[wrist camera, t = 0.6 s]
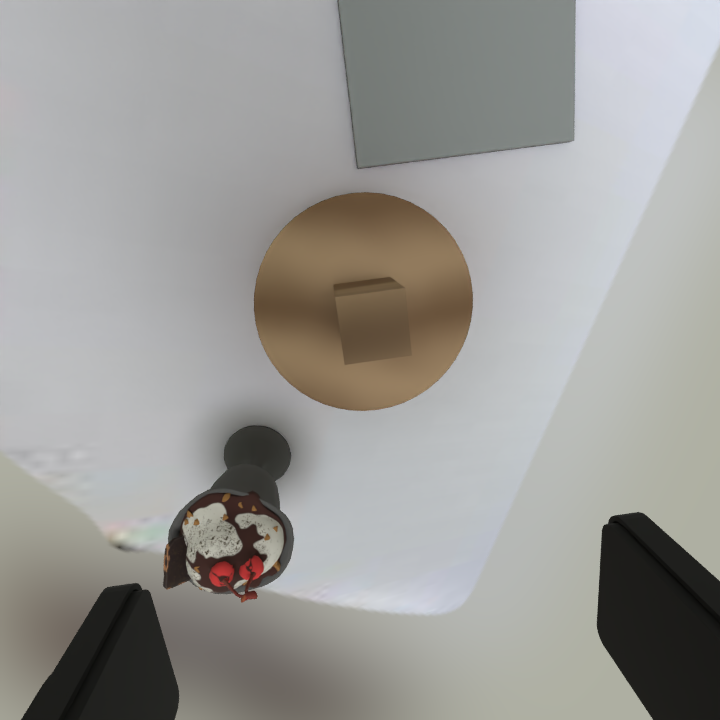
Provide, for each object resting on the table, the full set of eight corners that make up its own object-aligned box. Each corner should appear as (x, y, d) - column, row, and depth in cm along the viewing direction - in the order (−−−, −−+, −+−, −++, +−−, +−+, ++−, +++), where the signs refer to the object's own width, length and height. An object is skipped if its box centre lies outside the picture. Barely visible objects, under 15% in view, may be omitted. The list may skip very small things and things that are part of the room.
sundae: (318, 438, 34) (313, 590, 20) (276, 507, 36) (242, 695, 21) (238, 398, 33) (171, 529, 19) (197, 471, 34) (106, 646, 20)
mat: (325, -102, 25) (326, -109, 25) (571, -127, 26) (576, -135, 25) (357, 168, 29) (358, 167, 29) (569, 141, 30) (574, 140, 29)
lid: (237, 209, 25) (210, 202, 19) (461, 180, 25) (501, 166, 19) (277, 417, 28) (264, 466, 22) (473, 389, 29) (510, 429, 23)
